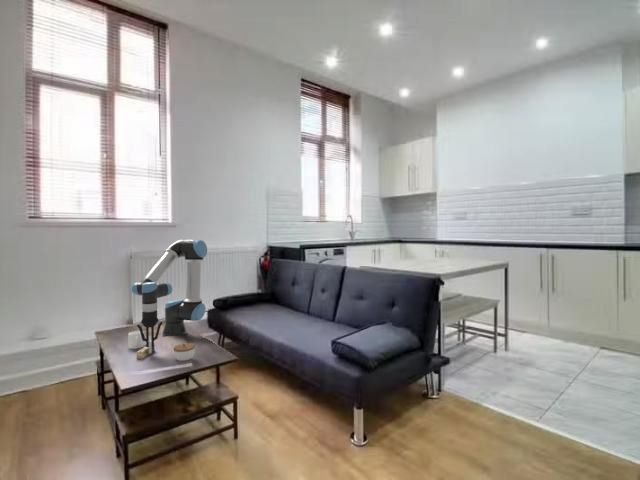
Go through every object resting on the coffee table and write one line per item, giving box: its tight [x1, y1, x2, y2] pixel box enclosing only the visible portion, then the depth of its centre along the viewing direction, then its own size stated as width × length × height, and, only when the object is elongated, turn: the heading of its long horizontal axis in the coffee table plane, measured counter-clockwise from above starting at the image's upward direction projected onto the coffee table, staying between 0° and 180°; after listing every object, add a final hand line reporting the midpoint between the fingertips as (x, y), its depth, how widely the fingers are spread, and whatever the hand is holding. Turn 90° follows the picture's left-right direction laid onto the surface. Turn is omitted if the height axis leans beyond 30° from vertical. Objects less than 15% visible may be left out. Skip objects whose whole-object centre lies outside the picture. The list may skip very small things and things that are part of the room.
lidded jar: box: [173, 342, 196, 362], centre depth 186 cm, size 11×11×9 cm
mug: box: [127, 330, 145, 350], centre depth 201 cm, size 8×12×10 cm
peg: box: [136, 343, 155, 360], centre depth 190 cm, size 14×5×4 cm, turn 179°
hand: (150, 352), depth 190 cm, fingers closed
